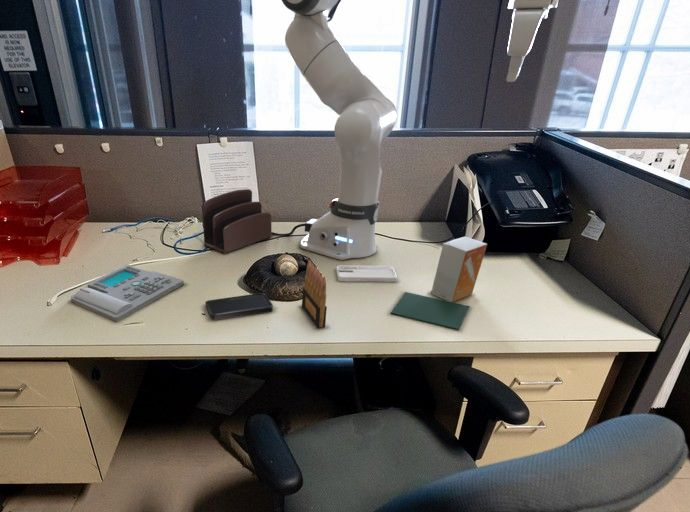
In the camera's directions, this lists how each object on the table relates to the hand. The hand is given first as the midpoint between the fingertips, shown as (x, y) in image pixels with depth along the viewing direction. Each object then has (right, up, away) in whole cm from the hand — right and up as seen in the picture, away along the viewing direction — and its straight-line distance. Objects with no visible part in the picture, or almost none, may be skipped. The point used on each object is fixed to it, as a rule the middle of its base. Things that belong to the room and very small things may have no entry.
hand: (512, 79), depth 102 cm
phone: (-59, -48, +11) cm, 77 cm away
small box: (-7, -44, +15) cm, 47 cm away
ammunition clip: (-42, -51, +7) cm, 66 cm away
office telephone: (-89, -43, +19) cm, 100 cm away
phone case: (-26, -38, +24) cm, 51 cm away
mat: (-15, -49, +8) cm, 52 cm away
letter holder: (-60, -22, +46) cm, 78 cm away
